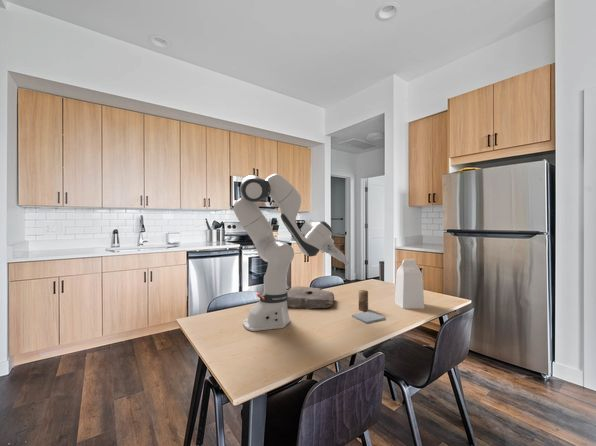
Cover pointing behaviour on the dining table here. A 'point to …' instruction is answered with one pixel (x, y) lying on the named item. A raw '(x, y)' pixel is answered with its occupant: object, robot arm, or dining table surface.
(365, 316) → the mat
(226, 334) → the dining table surface
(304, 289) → the stone slab
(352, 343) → the dining table surface
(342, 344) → the dining table surface
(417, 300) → the milk
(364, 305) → the roller
